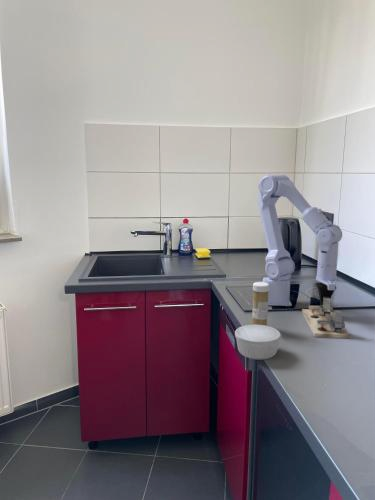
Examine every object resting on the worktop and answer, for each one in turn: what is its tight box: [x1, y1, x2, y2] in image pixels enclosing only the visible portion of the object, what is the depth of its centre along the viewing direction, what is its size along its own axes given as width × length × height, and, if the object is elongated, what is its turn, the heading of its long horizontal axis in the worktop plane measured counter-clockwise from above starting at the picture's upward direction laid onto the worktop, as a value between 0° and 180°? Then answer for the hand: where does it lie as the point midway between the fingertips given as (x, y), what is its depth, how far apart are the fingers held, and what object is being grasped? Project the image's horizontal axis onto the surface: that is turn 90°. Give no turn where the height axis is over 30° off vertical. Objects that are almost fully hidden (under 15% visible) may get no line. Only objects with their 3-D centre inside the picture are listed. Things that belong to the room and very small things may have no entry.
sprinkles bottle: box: [251, 281, 269, 326], centre depth 114 cm, size 5×5×14 cm
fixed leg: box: [317, 309, 346, 331], centre depth 110 cm, size 7×3×5 cm, turn 84°
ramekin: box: [234, 324, 282, 361], centre depth 99 cm, size 11×11×5 cm
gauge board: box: [301, 308, 350, 339], centre depth 118 cm, size 9×20×2 cm, turn 174°
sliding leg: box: [308, 296, 334, 315], centre depth 123 cm, size 7×3×5 cm, turn 84°
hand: (324, 305), depth 125 cm, fingers closed
